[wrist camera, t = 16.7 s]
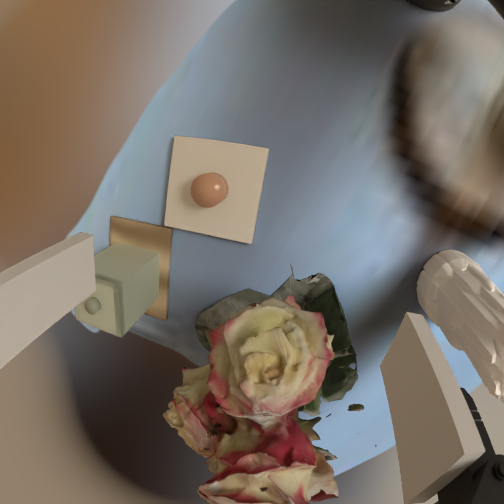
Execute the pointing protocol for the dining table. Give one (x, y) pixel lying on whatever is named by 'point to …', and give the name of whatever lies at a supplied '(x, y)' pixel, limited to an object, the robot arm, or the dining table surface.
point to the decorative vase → (466, 312)
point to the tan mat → (151, 240)
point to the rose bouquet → (266, 393)
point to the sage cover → (121, 288)
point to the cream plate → (239, 182)
